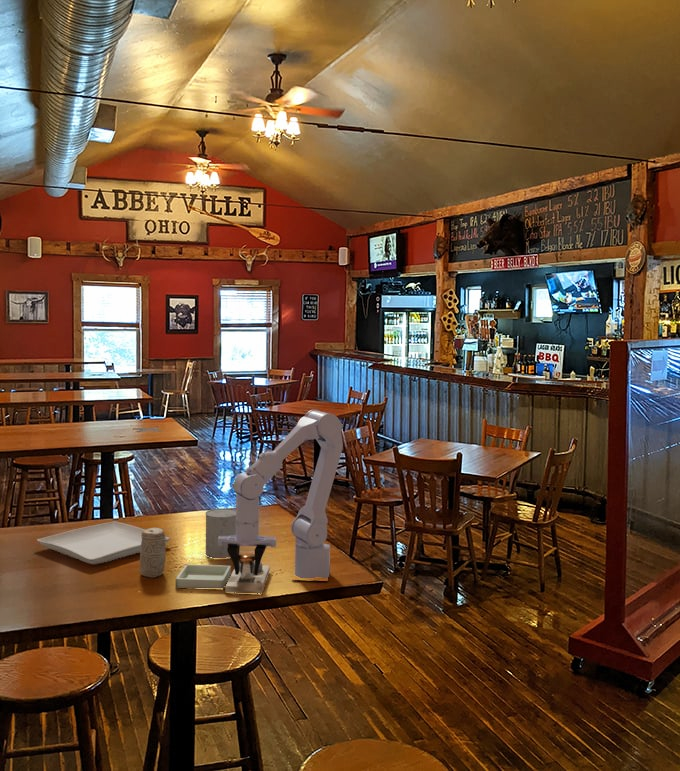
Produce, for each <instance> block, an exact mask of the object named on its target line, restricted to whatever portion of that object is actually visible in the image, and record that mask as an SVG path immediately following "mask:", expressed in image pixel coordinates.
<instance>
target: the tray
mask: <svg viewBox="0 0 680 771" xmlns="http://www.w3.org/2000/svg"><path fill="white" fill-rule="evenodd" d="M230 574H232V565H224V564H223V565H222V564H221V565H218V564H217V565H215V564H189V563H188V564H187V563H186V564H185V565H184V566H183V568H182V569H181V571H180V572H179V573H178V574H177V576H176V578H175V589H176V588H192V589H191V590H194V589H193V588H224V586H225V584H226V582H227V580H228V578H229V576H230ZM224 589H225V588H224Z"/></svg>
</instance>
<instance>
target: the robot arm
mask: <svg viewBox="0 0 680 771" xmlns="http://www.w3.org/2000/svg"><path fill="white" fill-rule="evenodd" d="M342 429H343V424H342V422H341V420H340V419H339V418H338V416H337V415H335V414H334V413H329V412H324V411H321V410H318V409H311V410H309V411H307V412H306V413H305V414H304V416H302V417H301V418H300V419H299V420H298V422H297V423H296V425H295V426H294V427H293V429H292V430H291V431H290V432H289V433H288V434H286V436H285V437H283V439H282V441H281V442H280V443H279V444H278V445H277V446H276V447H274V450H271V451H269V450H268V451H265V452H264V453H263V452H261V453H260V454H259V455H258V459H257V460H255V462H253V464H251V465H250V467H246V469H245V472H244V471H243V472H242V473H241V472H240V473H239V474H237V476H236V477H235V478H234V481H233V483H232V484H231V485H232V486H231V487H232V489H233V492H235V495H236V496H235V510H236V535H234V536H219V538H218V546H222V545H228V548H227V551H228V554H229V555H230V557H231V559H230V560H231V562H232V565H233V568H234V569H235V574H236V575H238V574H239V569H240V567H239V564H240V561H239V560H238V556H239V555H240V548H241V547H243V546H247V547H255V548H254V554H255V560H254V561H255V570H254V575H258V571H259V565H260V562H261V561H262V557H263V556H264V553H265V551H266V549H267V547H270V548H276V547H277V537H270V536H263V535H260V534H259V533H260V532H259V527H260V526H259V525H260V524H259V523H260V522H259V521H260V518H259V516H260V511H259V510H260V507H259V506H260V496H262V493H263V491H264V487H265V485H266V484H267V483H268V482H269V481H270V480H271V478H273V477H274V475H275V474H277V472H279V471H280V470H281V469H282V468H283V462H284V459H286V458H287V457H288V456H289V455H291V454H292V452H294V451H295V450H296V449H297V448H298V447H299V446H301V444H303V443H304V442H305V441H309V440H316V442H317V443H318V445H319V446H320V450H319V456H318V458H317V462H316V466H315V470H314V473H313V477H312V480H311V484H310V487H309V490H308V493H307V494H308V495H307V498H306V501H305V504H304V505H303V506H302V507H300V509H299V510H298V513H297V516H296V517H295V518H294V519H293V520H292V523H291V527H290V528H291V529H290V530H291V533H292V535H293V536H294V537H295V538H294V540H295V541H294V543H295V544H294V547H295V548H294V555H295V556H294V570H295V575H296V576H298V577H300V578H315V577H322V578H327V577H329V578H330V573H331V570H332V569H331V568H332V566H331V565H330V562H331V561H330V560H331V559H330V558H331V544H327V543H325V542H326V540H327V538H328V529H327V527H328V522H329V519H328V517H327V513H326V508H327V505H328V502H329V497H330V494H331V491H332V486H333V484H334V480H335V476H336V473H337V471H338V470H337V469H338V466H339V463H340V459H341V456H342V452H343V449H344V448H343V447H344V442H343V436H342V431H343V430H342ZM234 569H233V570H234ZM329 572H330V573H329Z"/></svg>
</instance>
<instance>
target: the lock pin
mask: <svg viewBox="0 0 680 771" xmlns="http://www.w3.org/2000/svg"><path fill="white" fill-rule="evenodd" d="M238 560H239V562H240V563H241V582H248V583H253V561H255V553H250V552H248V553H247V552H246V553H239V556H238Z"/></svg>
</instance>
